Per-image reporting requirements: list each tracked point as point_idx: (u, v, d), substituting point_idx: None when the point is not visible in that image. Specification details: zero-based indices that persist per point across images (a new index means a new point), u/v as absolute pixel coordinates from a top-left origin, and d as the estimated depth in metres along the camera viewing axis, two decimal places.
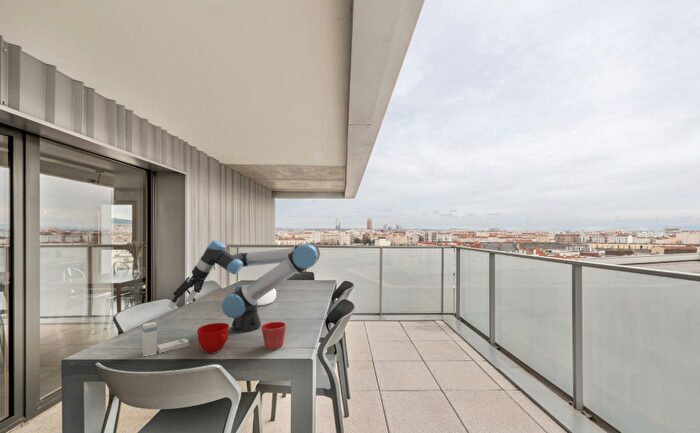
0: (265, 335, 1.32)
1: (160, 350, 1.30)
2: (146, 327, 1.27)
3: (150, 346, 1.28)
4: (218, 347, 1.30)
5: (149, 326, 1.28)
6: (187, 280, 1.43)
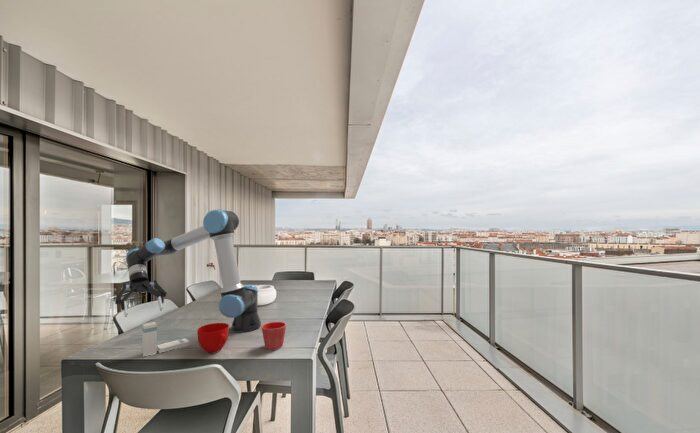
0: (265, 335, 1.32)
1: (160, 350, 1.30)
2: (146, 327, 1.27)
3: (150, 346, 1.28)
4: (218, 347, 1.30)
5: (149, 326, 1.28)
6: None
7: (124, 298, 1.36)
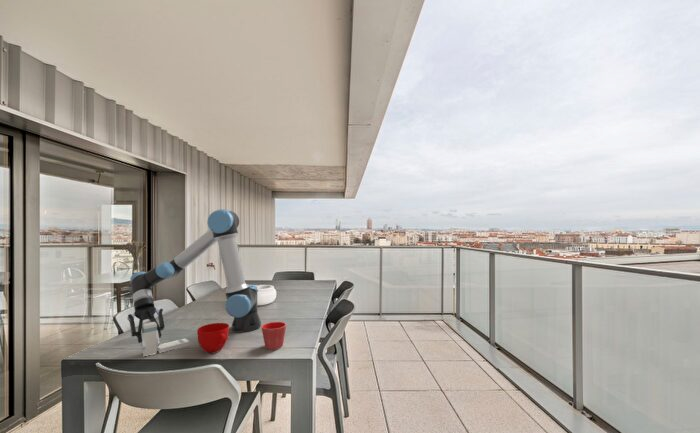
0: (265, 335, 1.32)
1: (160, 350, 1.30)
2: (146, 327, 1.27)
3: (150, 346, 1.28)
4: (218, 347, 1.30)
5: (149, 326, 1.28)
6: (128, 319, 1.31)
7: (140, 329, 1.29)
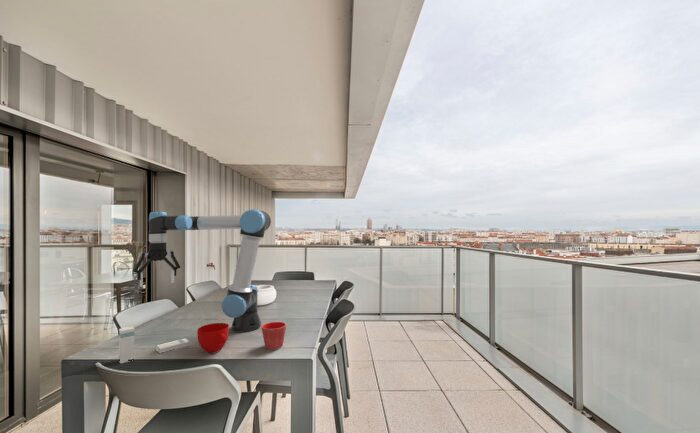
0: (265, 335, 1.32)
1: (160, 350, 1.30)
2: (123, 332, 1.22)
3: (127, 352, 1.22)
4: (218, 347, 1.30)
5: (126, 331, 1.22)
6: (141, 255, 1.45)
7: (141, 270, 1.44)
